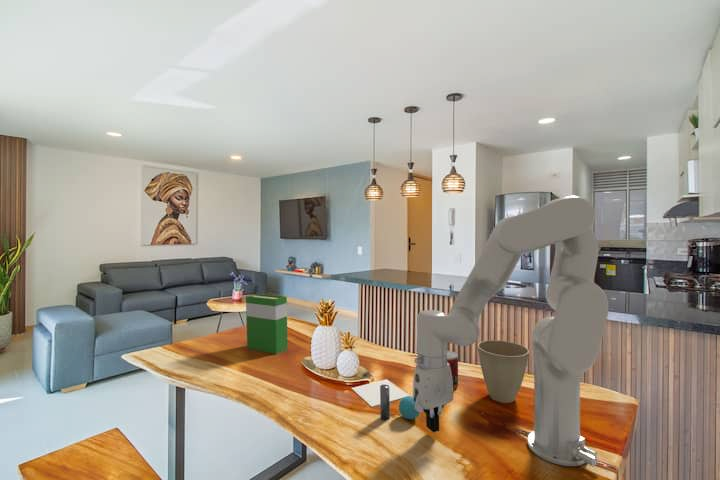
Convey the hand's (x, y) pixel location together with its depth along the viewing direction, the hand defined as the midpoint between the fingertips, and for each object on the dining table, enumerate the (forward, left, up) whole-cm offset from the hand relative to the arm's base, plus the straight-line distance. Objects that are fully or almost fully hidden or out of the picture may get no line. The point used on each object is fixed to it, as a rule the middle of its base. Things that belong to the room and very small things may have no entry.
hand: (432, 429), depth 90 cm
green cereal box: (+89, +23, -2) cm, 92 cm away
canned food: (+20, -22, -2) cm, 30 cm away
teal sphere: (+9, 0, +1) cm, 10 cm away
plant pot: (+5, -32, -2) cm, 33 cm away
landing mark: (+27, 0, -2) cm, 27 cm away
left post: (+13, +6, -2) cm, 15 cm away
